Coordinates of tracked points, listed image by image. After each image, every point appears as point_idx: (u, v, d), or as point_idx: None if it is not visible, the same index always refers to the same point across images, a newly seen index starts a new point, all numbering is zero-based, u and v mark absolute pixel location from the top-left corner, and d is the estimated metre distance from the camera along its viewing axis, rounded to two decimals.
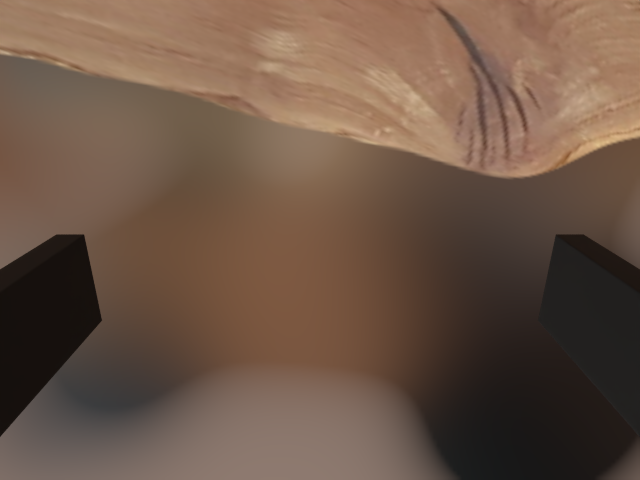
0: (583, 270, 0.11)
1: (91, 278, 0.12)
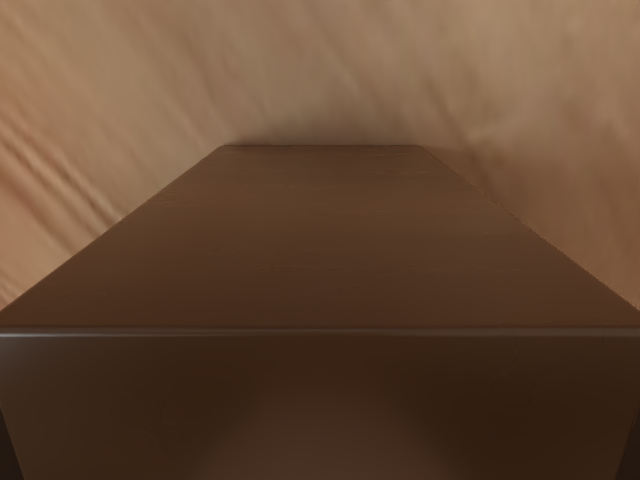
0: None
1: None
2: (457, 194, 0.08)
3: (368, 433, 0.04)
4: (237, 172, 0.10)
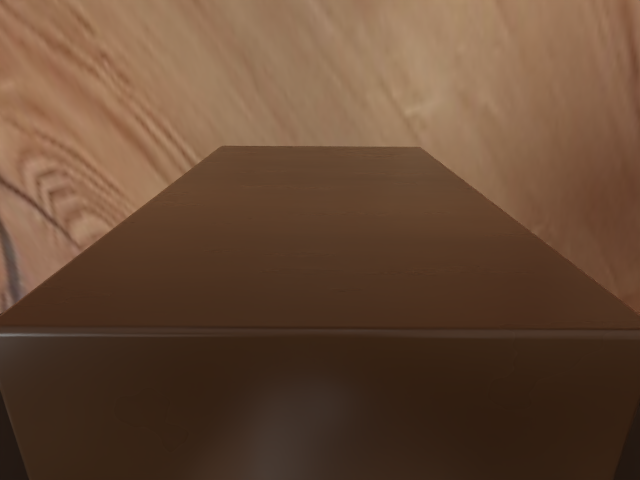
0: None
1: None
2: (457, 196, 0.08)
3: (368, 433, 0.04)
4: (238, 173, 0.10)
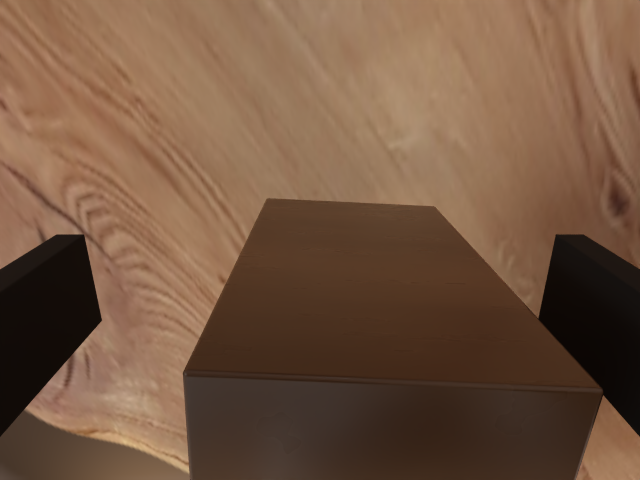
0: (583, 270, 0.11)
1: (91, 278, 0.12)
2: (470, 266, 0.11)
3: (417, 445, 0.07)
4: (293, 233, 0.13)
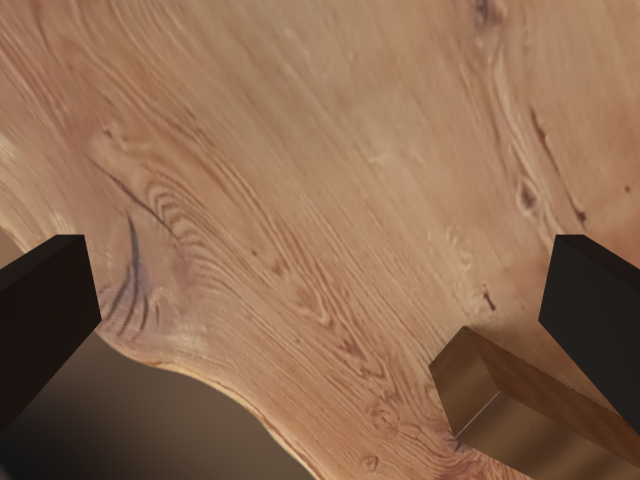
0: (584, 270, 0.11)
1: (91, 278, 0.12)
2: (477, 362, 0.42)
3: (490, 417, 0.39)
4: (444, 381, 0.46)
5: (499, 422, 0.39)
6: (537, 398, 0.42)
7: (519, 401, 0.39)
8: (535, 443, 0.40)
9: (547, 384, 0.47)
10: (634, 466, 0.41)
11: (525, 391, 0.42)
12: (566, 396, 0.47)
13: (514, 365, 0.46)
